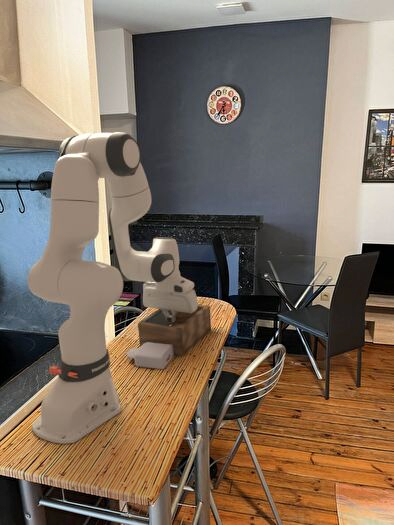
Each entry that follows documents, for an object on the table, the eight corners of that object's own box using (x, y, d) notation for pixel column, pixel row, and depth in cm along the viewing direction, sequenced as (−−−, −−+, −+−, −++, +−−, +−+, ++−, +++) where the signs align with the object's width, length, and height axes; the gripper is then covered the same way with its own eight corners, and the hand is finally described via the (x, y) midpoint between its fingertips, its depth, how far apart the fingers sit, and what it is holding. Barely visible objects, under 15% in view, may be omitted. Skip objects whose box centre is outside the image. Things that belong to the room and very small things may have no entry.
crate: (181, 357, 127) (179, 329, 125) (140, 349, 135) (137, 323, 132) (211, 330, 146) (209, 305, 144) (173, 324, 153) (171, 301, 151)
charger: (132, 352, 134) (173, 356, 129) (118, 365, 125) (162, 371, 120) (130, 339, 132) (172, 343, 128) (116, 351, 124) (161, 356, 119)
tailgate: (146, 343, 135) (144, 321, 133) (142, 342, 136) (140, 320, 134) (173, 323, 151) (171, 303, 149) (170, 322, 152) (168, 302, 150)
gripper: (137, 283, 138) (141, 320, 142) (189, 289, 129) (191, 328, 132) (147, 278, 144) (150, 314, 147) (198, 283, 134) (200, 321, 138)
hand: (170, 321), depth 140 cm, fingers closed
